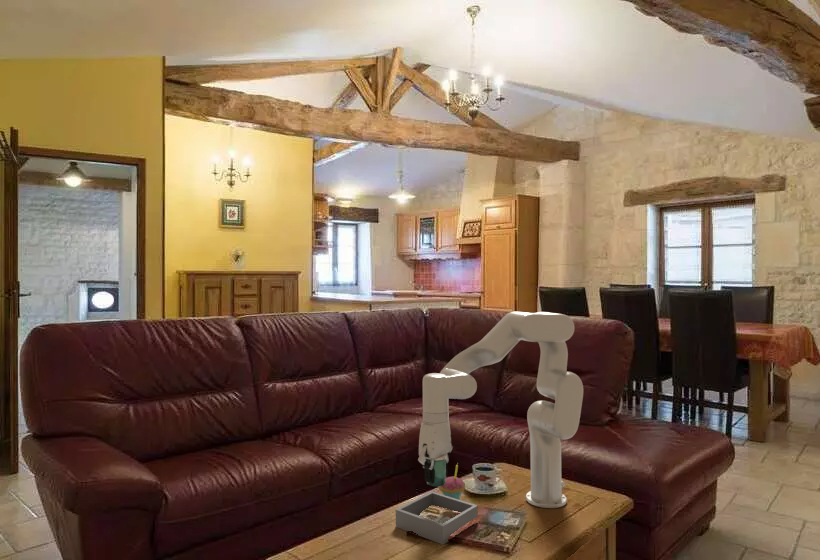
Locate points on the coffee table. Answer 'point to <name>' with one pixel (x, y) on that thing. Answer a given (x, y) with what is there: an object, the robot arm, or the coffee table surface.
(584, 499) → the coffee table surface
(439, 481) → the tea tin
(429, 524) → the bin
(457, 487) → the cupcake
